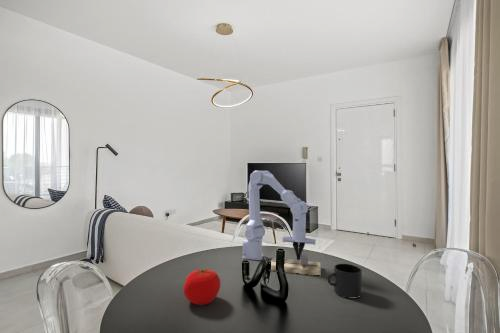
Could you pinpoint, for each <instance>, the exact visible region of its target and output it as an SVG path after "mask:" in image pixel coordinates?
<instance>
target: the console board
mask: <svg viewBox="0 0 500 333" xmlns="http://www.w3.org/2000/svg"><path fill="white" fill-rule="evenodd" d="M276 258H277V257H272V258H271V260H270V262H271V271H270V272H277V271H276ZM284 259H285V264H284V269H285V272H284V273H289V274H296V273H299V274H298V275H305V274H308V275H307V276H313V275H320V276H319V277H321V274H322V272H321V271H322V268H321V262H319V261H309V260H308V266H304V265H301V259H300V260H297V259H291V258H290V259H288V258H284Z"/></svg>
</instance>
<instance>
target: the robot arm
mask: <svg viewBox="0 0 500 333" xmlns="http://www.w3.org/2000/svg"><path fill="white" fill-rule="evenodd" d="M249 175H250V176H249V183H248V188H247V190H248V214H249V215H248V216H249V220H248V222H247V223H246V225H245V230H244V237H245V238H244V239H243V241H242V257H241V258H242V259H244V260H255V261H261V260H262V259H263V257H264V254H263V251H262V250H263V248H262V247H263V238H264V236H265V235H266V234H265V233H266V229H265V226H264V223H263V221H262V220H261V206H260V205H261V203H260V189H261V188H262V187H263V186H264V185H269V186H270V188H272V189H274V190H275V191H276V192H277V193H278V194H279V195H280V200H282V201H283V202H284V203H285V205H286V206H288V207H289V208H290V209H289V210H290V213H291V214H292V236H283V237H282V243H285V242H286V243H292V248H293V249H294V252H295V255H296V260H300V261H301V254H303V253H302V252H303V250H304V248H305V245H306V244H307V245H314V246H315V245H316V238H315V239H314V238H309V237H306V231H307V230H306V228H307V227H306V225H307V224H306V222H307V218H306V217H307V213H308V211H309V206H308V204H307V203H306V201H303V200H302V199H300V198H299V197H297V196H296V195H295V194H294V191H293V190H290V189H286V188H284V186H283V185H282V184H281V183H280V182H279V180H277V178H276V177H275V176H274V174H272V173H271V172H270V171H269V170H258V169H257V170H254V171H252V173H250V174H249Z"/></svg>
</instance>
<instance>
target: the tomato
mask: <svg viewBox="0 0 500 333" xmlns="http://www.w3.org/2000/svg"><path fill="white" fill-rule="evenodd" d="M220 288H221V279H220V276H219V275H218V274H217V272H216V271H215V270H212V269H208V268H203V269H202V268H201V269H198V268H197V269H196V270H194V271H191V272H190V273H189V274H188V275H187V277H186V279H185V282H184V285H183V294H184V296H185V298H186V299H187V301H188V302H190V303H192V304H195V305H198V306H204V305H208V304H211V303H212V302H213V301H214V300H215V299H216V297H217V296H218V294H219V292H220V290H221V289H220Z"/></svg>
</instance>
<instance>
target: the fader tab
mask: <svg viewBox="0 0 500 333" xmlns="http://www.w3.org/2000/svg"><path fill="white" fill-rule="evenodd" d="M300 261H301V265H304V266H308V261H309V254H306V253H301V256H300Z"/></svg>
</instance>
